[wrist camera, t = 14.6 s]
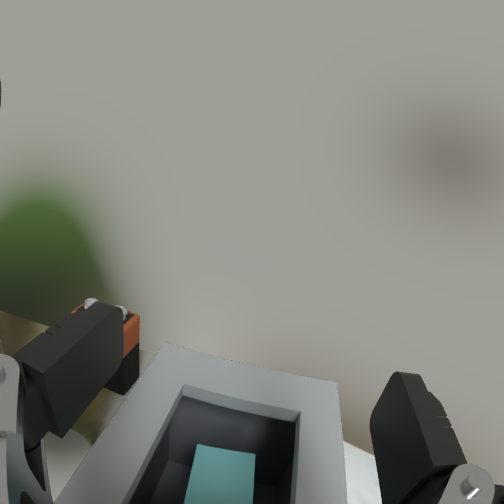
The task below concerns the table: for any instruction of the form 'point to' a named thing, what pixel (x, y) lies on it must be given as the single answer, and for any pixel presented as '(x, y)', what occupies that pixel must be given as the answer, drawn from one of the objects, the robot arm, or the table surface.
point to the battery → (130, 360)
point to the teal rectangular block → (221, 477)
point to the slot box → (216, 434)
